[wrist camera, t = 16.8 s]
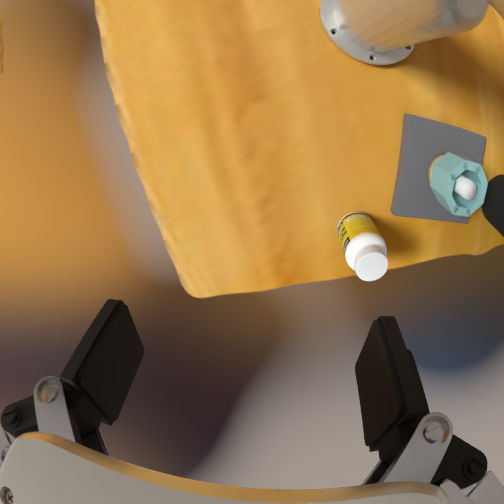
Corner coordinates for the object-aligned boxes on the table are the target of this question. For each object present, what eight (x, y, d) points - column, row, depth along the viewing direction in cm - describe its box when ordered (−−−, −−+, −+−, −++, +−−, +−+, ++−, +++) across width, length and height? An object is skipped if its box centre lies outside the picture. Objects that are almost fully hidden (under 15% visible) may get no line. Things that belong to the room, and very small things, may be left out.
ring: (435, 148, 27) (451, 156, 24) (474, 158, 26) (491, 167, 23) (426, 200, 31) (440, 213, 27) (464, 206, 30) (479, 218, 27)
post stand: (404, 113, 28) (433, 120, 22) (480, 135, 27) (513, 148, 20) (390, 211, 36) (411, 238, 29) (462, 219, 34) (489, 245, 28)
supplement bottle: (333, 214, 37) (348, 251, 29) (370, 207, 36) (394, 242, 27) (338, 247, 40) (351, 290, 31) (373, 240, 38) (394, 281, 30)
